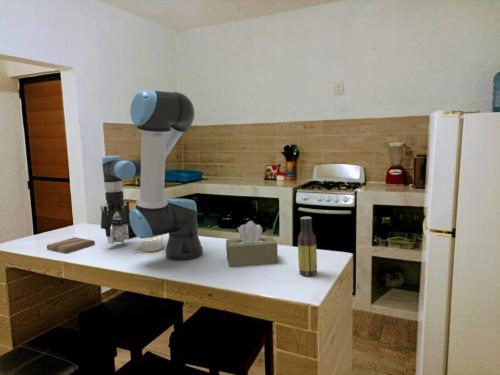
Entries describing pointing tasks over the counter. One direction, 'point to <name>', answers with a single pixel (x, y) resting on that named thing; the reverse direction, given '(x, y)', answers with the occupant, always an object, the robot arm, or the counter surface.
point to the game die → (119, 234)
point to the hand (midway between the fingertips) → (118, 240)
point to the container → (118, 222)
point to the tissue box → (251, 247)
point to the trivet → (70, 245)
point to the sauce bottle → (307, 248)
